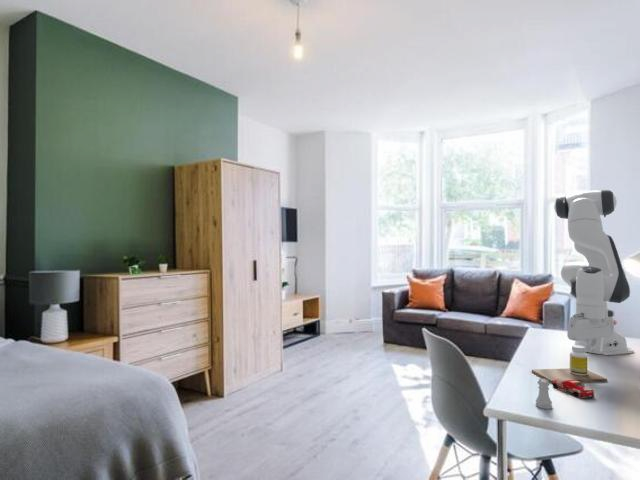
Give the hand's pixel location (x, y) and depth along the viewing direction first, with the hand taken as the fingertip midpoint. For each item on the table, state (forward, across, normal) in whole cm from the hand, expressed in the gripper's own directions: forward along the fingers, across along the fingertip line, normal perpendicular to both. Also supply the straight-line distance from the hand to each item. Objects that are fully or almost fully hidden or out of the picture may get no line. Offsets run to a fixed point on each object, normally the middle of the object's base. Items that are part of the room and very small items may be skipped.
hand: (590, 350), depth 146 cm
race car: (+10, -20, -7) cm, 23 cm away
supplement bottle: (+8, -4, +2) cm, 10 cm away
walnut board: (+9, -8, +3) cm, 13 cm away
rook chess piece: (+10, -38, -12) cm, 41 cm away
